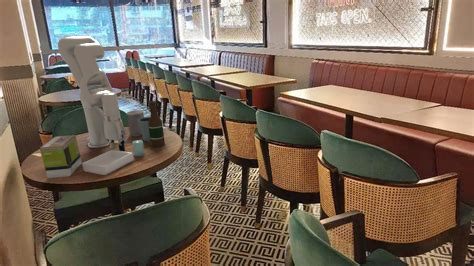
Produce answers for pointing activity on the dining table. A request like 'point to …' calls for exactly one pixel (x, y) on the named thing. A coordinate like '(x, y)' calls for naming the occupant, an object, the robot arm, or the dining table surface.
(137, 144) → the teal cylinder
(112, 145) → the maple cube
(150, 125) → the beer bottle
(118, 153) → the white tray
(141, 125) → the drinking glass
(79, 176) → the dining table surface
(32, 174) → the dining table surface
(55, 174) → the tea box
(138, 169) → the dining table surface
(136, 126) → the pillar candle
